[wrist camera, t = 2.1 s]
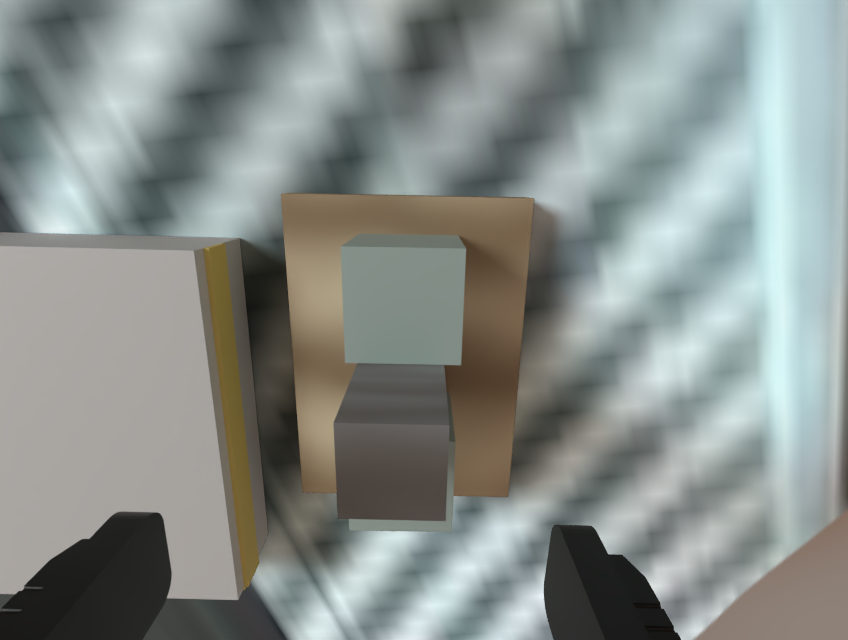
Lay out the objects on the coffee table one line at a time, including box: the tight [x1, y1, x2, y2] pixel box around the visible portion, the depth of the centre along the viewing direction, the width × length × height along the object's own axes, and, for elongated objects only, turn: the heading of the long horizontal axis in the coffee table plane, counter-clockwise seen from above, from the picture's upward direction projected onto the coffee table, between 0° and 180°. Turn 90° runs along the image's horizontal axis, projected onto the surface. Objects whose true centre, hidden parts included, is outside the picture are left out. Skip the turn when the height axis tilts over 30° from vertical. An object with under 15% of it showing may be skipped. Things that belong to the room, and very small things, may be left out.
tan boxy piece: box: [281, 193, 534, 521], centre depth 17 cm, size 14×10×10 cm
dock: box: [0, 232, 268, 600], centre depth 20 cm, size 12×16×4 cm
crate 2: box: [349, 393, 456, 532], centre depth 19 cm, size 4×4×4 cm
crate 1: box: [341, 234, 466, 365], centre depth 17 cm, size 4×4×4 cm
